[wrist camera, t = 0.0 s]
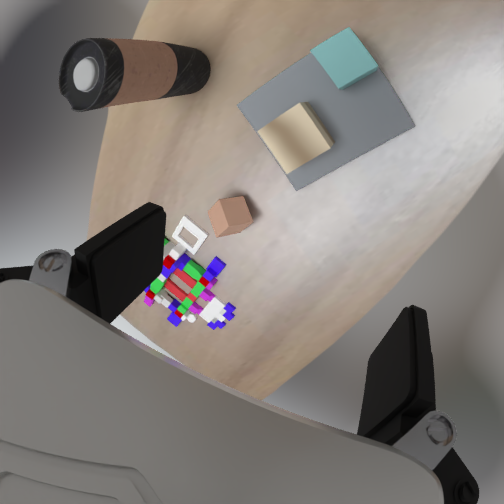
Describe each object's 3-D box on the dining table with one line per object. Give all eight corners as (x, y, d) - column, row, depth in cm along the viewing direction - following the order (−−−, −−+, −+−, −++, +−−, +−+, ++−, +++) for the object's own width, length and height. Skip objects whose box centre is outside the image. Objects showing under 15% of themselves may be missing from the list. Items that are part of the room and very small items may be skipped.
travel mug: (214, 45, 35) (108, 29, 19) (210, 96, 39) (106, 111, 23) (167, 48, 37) (58, 46, 21) (166, 95, 41) (58, 115, 25)
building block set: (203, 343, 66) (194, 357, 62) (132, 283, 65) (119, 295, 61) (269, 280, 51) (260, 296, 48) (174, 202, 50) (158, 212, 47)
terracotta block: (230, 208, 46) (243, 196, 43) (239, 232, 46) (253, 221, 43) (207, 212, 44) (219, 199, 41) (216, 237, 44) (229, 226, 40)
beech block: (307, 101, 34) (299, 102, 30) (335, 142, 36) (330, 148, 32) (270, 126, 37) (257, 131, 33) (296, 164, 39) (286, 174, 35)
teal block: (351, 37, 28) (349, 26, 23) (376, 70, 29) (378, 65, 24) (318, 57, 31) (309, 50, 26) (342, 90, 32) (338, 88, 27)
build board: (350, 30, 29) (350, 29, 28) (414, 125, 32) (415, 126, 31) (239, 104, 38) (236, 105, 37) (298, 188, 41) (296, 191, 41)
